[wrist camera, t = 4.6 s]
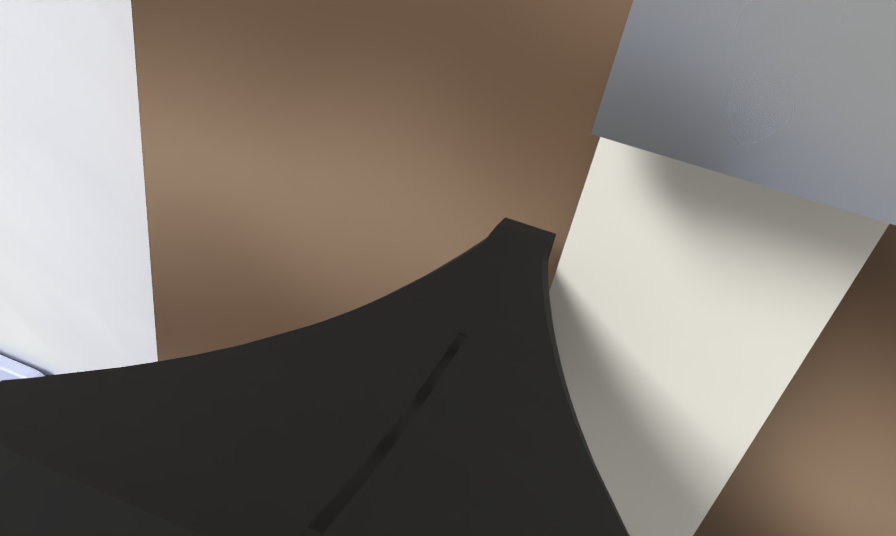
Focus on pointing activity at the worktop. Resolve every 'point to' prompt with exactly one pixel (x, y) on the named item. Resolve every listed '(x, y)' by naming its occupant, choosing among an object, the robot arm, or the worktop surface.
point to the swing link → (689, 321)
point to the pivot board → (445, 202)
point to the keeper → (764, 94)
